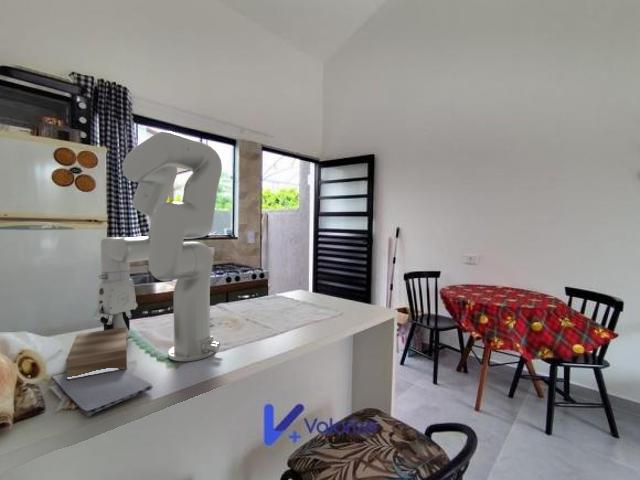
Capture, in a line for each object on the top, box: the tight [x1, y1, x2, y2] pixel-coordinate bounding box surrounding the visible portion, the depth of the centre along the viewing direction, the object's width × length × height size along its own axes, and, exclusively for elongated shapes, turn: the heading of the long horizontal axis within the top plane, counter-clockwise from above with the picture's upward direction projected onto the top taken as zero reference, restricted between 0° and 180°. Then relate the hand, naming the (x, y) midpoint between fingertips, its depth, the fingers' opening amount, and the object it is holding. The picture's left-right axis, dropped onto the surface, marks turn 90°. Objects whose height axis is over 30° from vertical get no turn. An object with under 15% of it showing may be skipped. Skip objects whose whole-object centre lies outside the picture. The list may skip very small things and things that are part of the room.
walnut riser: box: [65, 327, 128, 378], centre depth 86 cm, size 20×12×5 cm, turn 31°
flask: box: [111, 313, 132, 340], centre depth 102 cm, size 7×7×10 cm
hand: (117, 332), depth 102 cm, fingers closed on flask, 4 cm apart
